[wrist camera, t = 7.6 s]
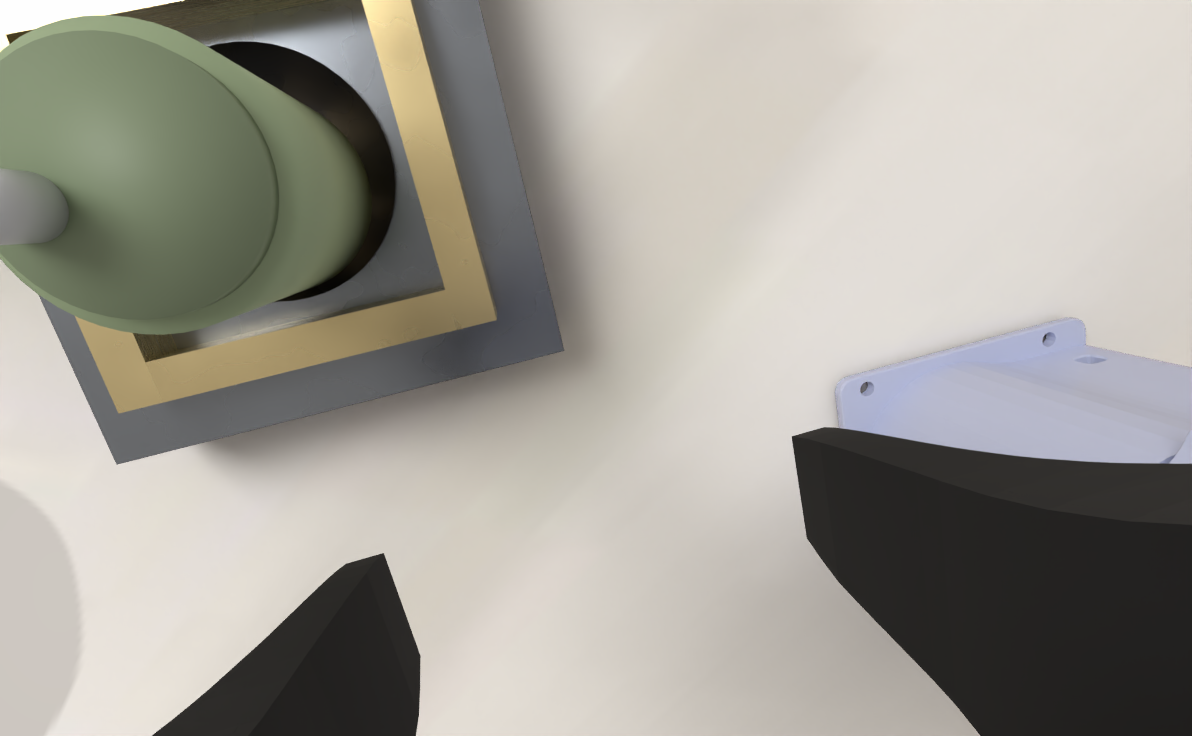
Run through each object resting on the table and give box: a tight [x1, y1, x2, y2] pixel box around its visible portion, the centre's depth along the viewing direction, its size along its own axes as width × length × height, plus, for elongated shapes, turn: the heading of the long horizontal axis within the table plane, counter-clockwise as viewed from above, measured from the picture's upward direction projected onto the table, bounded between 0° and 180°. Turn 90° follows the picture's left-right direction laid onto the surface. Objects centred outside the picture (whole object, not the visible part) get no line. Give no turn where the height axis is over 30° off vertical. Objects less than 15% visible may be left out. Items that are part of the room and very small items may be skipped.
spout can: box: [0, 15, 372, 335], centre depth 11 cm, size 5×5×8 cm
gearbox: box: [0, 0, 564, 464], centre depth 16 cm, size 15×12×4 cm
